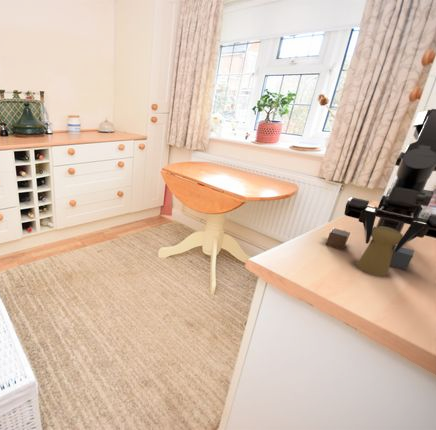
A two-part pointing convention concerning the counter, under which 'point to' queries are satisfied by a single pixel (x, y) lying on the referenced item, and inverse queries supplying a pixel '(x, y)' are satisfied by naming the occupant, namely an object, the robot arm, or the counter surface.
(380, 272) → the cork
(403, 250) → the slate block
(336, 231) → the walnut block
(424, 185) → the robot arm
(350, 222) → the counter surface
